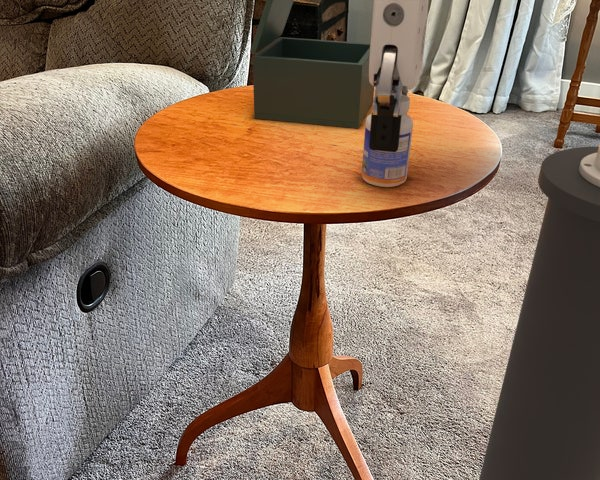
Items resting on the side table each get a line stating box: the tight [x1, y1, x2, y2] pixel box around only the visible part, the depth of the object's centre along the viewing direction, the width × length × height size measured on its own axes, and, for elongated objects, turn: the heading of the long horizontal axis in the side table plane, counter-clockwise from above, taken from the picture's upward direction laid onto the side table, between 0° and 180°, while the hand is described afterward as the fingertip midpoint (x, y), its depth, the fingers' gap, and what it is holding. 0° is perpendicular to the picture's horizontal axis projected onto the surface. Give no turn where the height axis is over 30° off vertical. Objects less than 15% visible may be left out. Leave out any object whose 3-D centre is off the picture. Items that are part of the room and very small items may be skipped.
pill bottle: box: [361, 93, 414, 188], centre depth 74 cm, size 5×5×10 cm
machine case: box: [252, 36, 375, 129], centre depth 97 cm, size 16×14×9 cm
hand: (387, 139), depth 74 cm, fingers closed on pill bottle, 5 cm apart
